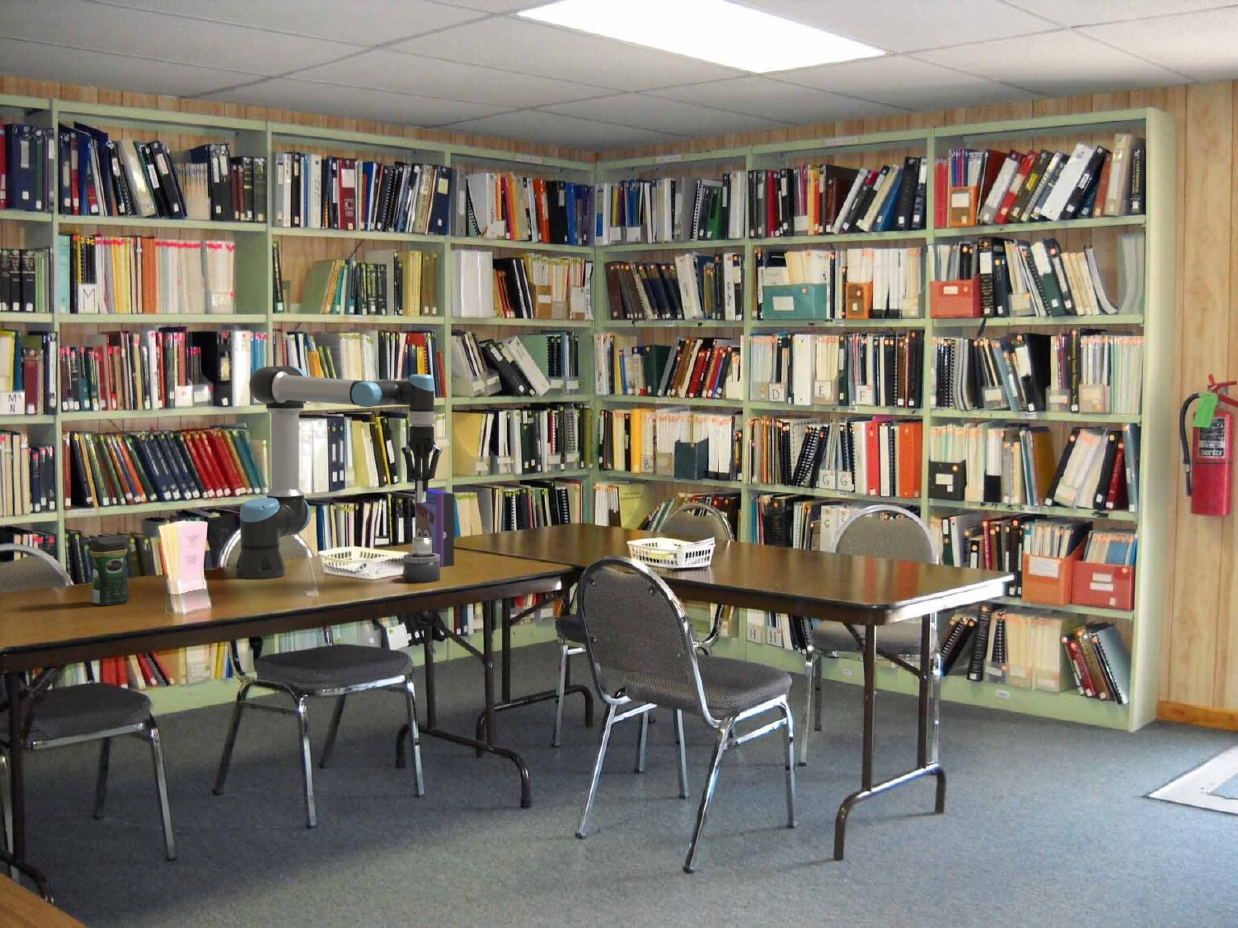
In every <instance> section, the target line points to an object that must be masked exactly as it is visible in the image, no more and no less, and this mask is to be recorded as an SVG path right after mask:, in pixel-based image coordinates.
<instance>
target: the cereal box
mask: <svg viewBox="0 0 1238 928" xmlns="http://www.w3.org/2000/svg"><path fill="white" fill-rule="evenodd" d="M414 503H415V504H414V508H415V510H414V512H415V513H414V518H415V520H414V522H415V523H414V533H415V534H414V535H415V536H414V537H420V536H426V537H432V553H436V554H440V568H445V567H454V566H455V493H453V492H448V491H442V490H436V489H433V488H428V491H427V492H426V502H423V503H417V491H415V490H414Z"/></svg>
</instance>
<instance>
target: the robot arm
mask: <svg viewBox="0 0 1238 928" xmlns="http://www.w3.org/2000/svg"><path fill="white" fill-rule="evenodd" d="M434 378H435V377H433V375H431V374H411V375H409V378H408V380H397V379H396V380H395V379H394V380H392V379H379V380H358V379H357V380H356V379H345V378H344V379H343V378H332V377H331V378H330V377H316V376H308V374H307V373H305V372H304V370H302V369H301V367H300V368H299V367H298V366H291V365H280V366H279V365H274V366H271V365H270V366H269V365H268V366H263V367H260V368H258V369H256V370H255V371H254V372H253V373H252V374H251V376H250V379H249V383H248V387H249V392H250V394H251V395H252V397H253V398H254V399H255V400H256V401H258V402H259V403H263V404H265V409H266V410H267V411H268V412H269V413H270V432H271V434H270V439H271V441H270V442H271V443H270V444H271V445H270V446H271V447H270V451H271V452H270V453H271V457H270V459H271V462H270V463H271V467H270V468H271V469H270V471H271V472H270V474H271V481H270V482H271V489H270V490H269V491H268V492H267V493H266V497H259V498H253V499H248V500H246V501H244V502H242V504H241V505H240V512H239V513H240V514H239V521H240V522H239V524H240V526H239V527H240V530H239V531H240V532H239V533H240V552H239V555H238V559H237V561H236V565H235V569H234V570H235V571H234V576H235V577H237V578H242V579H252V580H253V579H255V580H257V579H271V578H278V577H279V578H280V577H282V576H285V575H286V566H285V562H284V560H283V559H284V558H283V557H282V553H281V551H280V538H283V537H286V536H289V537H290V536H294V535H296V534H298V533H301V532H302V531H304V530H305V529H306V528H307V527H308V526H309V524H310V521H311V516H312V512H311V507H310V505H309V504H308V501H306V500H305V492H303V491H302V490H301V489H300V413H301V412H302V411H303V410H304V409H305V408H304V407H305V405H304V403H305V402H309V403H310V402H311V403H324V404H335V405H336V404H337V405H338V404H339V405H349V406H351V405H352V406H359V407H361V408H372V407H381V406H382V407H383V406H408V407H409V409H408V410H409V420H408V421H409V422H408V423H409V425H410V426H409V428H408V429H409V434H408V437H409V441H408V442H407V444H406V445H405V446H404V447H401V448H400V450H401V452H402V454H403V456H404V461H405V465H406V470H407V474H408V479H412V480H413V481H414V492H415V491H417V503H423V502H426V492H427V491H428V489H429V481H430V480H433V479H435V476H436V471H437V467H438V463H439V459H440V456H441V453H442V452H443V449H442V448H439V447H438V446H437V445H436V442H435V427H434V426H433V425H434V424H435V390H436V389H435V379H434ZM412 453H413V456H412ZM431 453H432V456H431ZM430 456H431V459H430ZM413 459H414V460H413Z"/></svg>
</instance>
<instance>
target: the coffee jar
mask: <svg viewBox="0 0 1238 928" xmlns="http://www.w3.org/2000/svg"><path fill="white" fill-rule="evenodd" d="M127 553H128V546H127V540H126V538H125V537H124V536H120V535H111V536H110V535H107V536H100V537H95V538H91V539H90V543H89V555H90V557H91V560H92V561H91V562H92V575H91V576H92V578H91V579H92V580H91V589H90V590H91V591H90V601H91V603H92V604H93V605H94V606H98V605H99V606H111V605H112V606H113V605H119V604H123V603H127V602H128V601H129V600H130V593H129V591H130V590H129V585H128V577H127V571H126V570H127V569H126V556H127Z"/></svg>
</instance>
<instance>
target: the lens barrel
mask: <svg viewBox="0 0 1238 928" xmlns="http://www.w3.org/2000/svg"><path fill="white" fill-rule="evenodd" d="M403 570H404V576H403V580H404V582H408V583H413V584H414V583H415V584H422V583H423V584H425V583H427V584H428V583H435V582H439V581H440V580H441V567H440V554H436V553H432V557H427V558H417V557H412V552H411V553H407V554H406V553H405V554H403Z"/></svg>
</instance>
